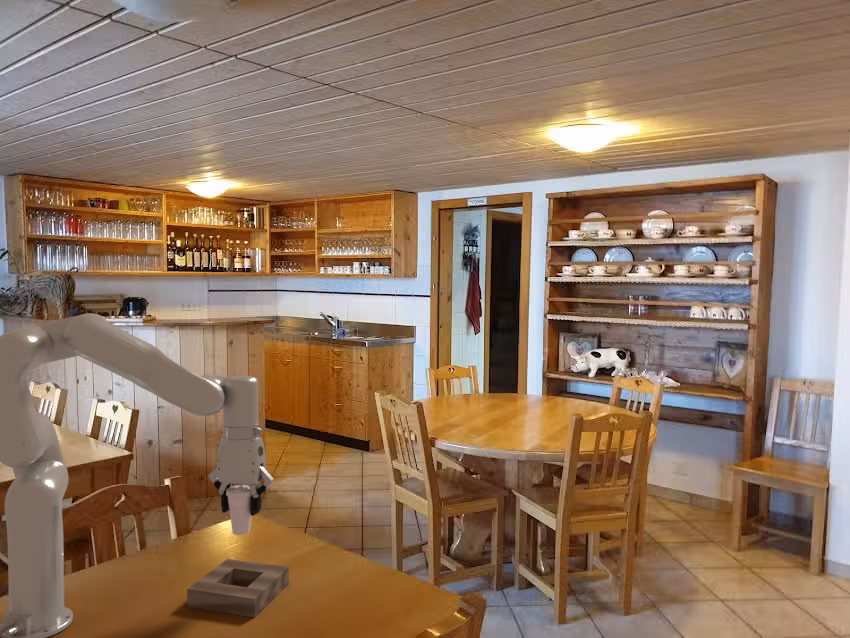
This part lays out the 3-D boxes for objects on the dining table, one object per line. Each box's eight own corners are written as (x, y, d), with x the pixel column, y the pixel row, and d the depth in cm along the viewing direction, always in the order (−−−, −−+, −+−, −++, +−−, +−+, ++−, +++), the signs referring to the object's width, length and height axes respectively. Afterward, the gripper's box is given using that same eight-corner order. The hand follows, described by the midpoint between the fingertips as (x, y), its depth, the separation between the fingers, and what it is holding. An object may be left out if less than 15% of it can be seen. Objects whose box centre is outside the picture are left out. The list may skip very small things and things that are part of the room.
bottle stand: (254, 617, 136) (255, 598, 135) (187, 607, 139) (187, 588, 139) (288, 583, 151) (289, 567, 151) (227, 575, 155) (227, 558, 155)
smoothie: (225, 538, 141) (225, 474, 140) (226, 527, 147) (226, 466, 146) (256, 535, 142) (256, 472, 142) (255, 525, 149) (255, 464, 148)
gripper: (284, 431, 145) (284, 510, 146) (215, 426, 149) (215, 503, 150) (268, 438, 138) (268, 522, 139) (196, 433, 142) (196, 514, 143)
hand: (241, 511), depth 144 cm, fingers closed on smoothie, 6 cm apart
